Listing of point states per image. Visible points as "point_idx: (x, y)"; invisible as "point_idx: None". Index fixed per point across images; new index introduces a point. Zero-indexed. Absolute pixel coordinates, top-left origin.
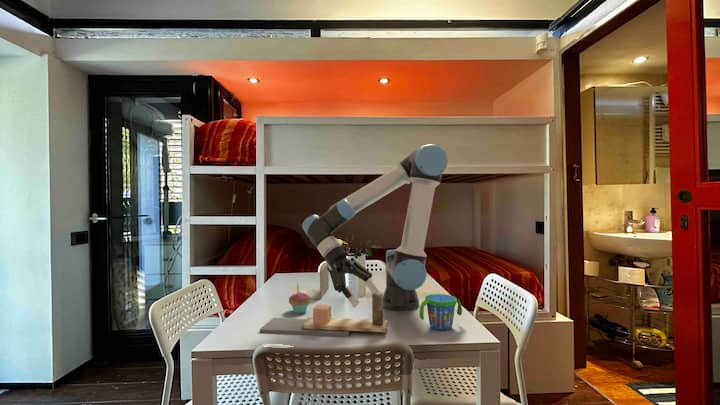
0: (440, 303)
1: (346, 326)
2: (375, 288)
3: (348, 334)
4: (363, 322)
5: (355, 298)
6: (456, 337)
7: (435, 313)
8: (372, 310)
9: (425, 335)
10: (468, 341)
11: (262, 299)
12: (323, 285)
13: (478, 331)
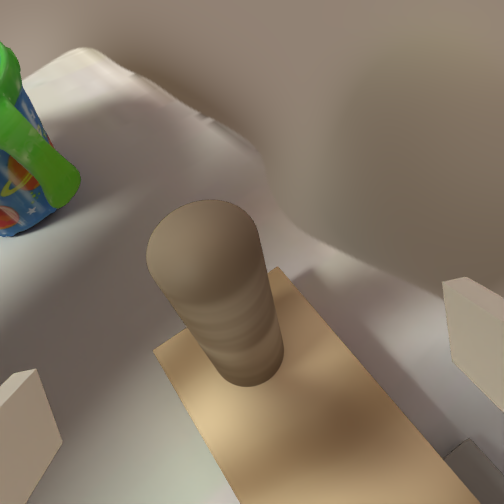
0: (13, 54)
1: (457, 485)
2: (1, 427)
3: (451, 452)
4: (294, 446)
5: (496, 300)
6: (104, 112)
7: (36, 128)
8: (269, 332)
9: (151, 183)
10: (118, 77)
11: None
12: None
13: None
